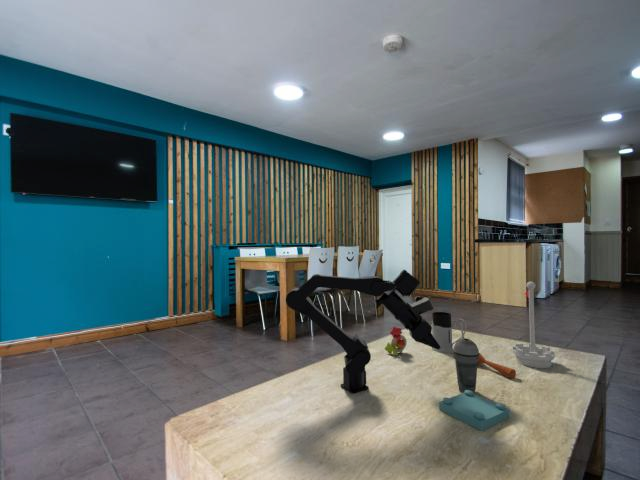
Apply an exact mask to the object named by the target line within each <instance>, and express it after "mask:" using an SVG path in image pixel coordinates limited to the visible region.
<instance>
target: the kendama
mask: <svg viewBox="0 0 640 480" xmlns="http://www.w3.org/2000/svg"><path fill="white" fill-rule="evenodd" d="M478 364H479V365H481V364H486V365H487V366H488V367H490V368H492V369H494V370H495V371H497V373H500V374H502V375H503V376H505V377H507V378H508V379H510V380H512V379H515V377H516V376H517V371H516V370H515V369H514V368H511V367H508V366H504V365H501V364H499V363H495V362H492V361H489V360H486V359H485V357H484V356H483V354H481V353H480V352H479V358H478V362H477V365H478Z"/></svg>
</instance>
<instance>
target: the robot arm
mask: <svg viewBox="0 0 640 480" xmlns="http://www.w3.org/2000/svg"><path fill="white" fill-rule="evenodd" d="M421 284H422V283H421V282H420V281H419V279H417V278H416V277H415V276H413V274H411V273H409V272H408V270H406V269H402V270H401V271H400V273H399V274H398V275H397V277H396V278H394V279H393V280H392V281H391V280H385V279H382V278H381V277H379V276H377V275H371V276H370V275H369V276H367V275H366V276H361V277H346V276H338V275H324V274H318V273H315V274H312V276H310V278H308V280H307V281H305V282H304V283H303V284H301V285H300V286H299V287H294V288H292V289H291V290H290V291H289V292H288V293H287V295H286V296H285V303H286V305H287V307H288V308H290V309H291V310H293V311H295V312H296V313H299V314H300V315H302V316H304V317H307V318H308V319H309V320H310V321H312V323H314V324H315V325H317V326H318V328H320V329H321V330H322V331H324V333H325V334H327V335H328V336H329V337H330V338H331V339H333V340H334V341H335V342H336V343H337V344H338V345H339V346H341V348H342V349H343V350H344V352H345V353H346V354H345V355H344V356H343V358H344V359H343V360H344V365H345V366H344V367H343V368H342V370H343V372H342V373H343V375H342V377H343V381H342V383H341V384H340V387H341V388H342V389H345V390H346V391H348V392H349V393H351V394H355V393H358V392H362V391H365V390H368V389H370V388H369V387H370V386H368V385H367V371H366V366H367V365H368V364H369V363H370V361H371V358H372V356H371V351H370V350H369V346H368V344H367V341H366V340H364V339H362V338H361V337H360V336H359V335H358V333H355V335H354V336H353V335H350V334H349V333H347V332H346V331H345V330H344V329H343V328H342V327H340V326H339V325H338V324H337V323H336V322H334V321H333V320H332V319H331V318H329V316H328V315H326V314H325V313H324V312H322V311H321V310H320V309H319V308H318V307H317V306H316V305H315V304H314V302H313V301H312V299H311V298H310V297H309V296H310V295H312V294H313V293H314V292H315V291H316V290H317V289H318V288H324V289H334V290H335V289H336V290H346V291H356V292H360V293H362V294H365V295H368V296H373V297H375V298H374V302H375V303H374V306H375V308H376V309H378V308H380V307H381V306H383V307H384V308H385V310H387V311H388V312H389V313H390V314H391V315H392V316H393V317H394V319H395V320H396V321H398V323H400V324H401V325H402V326H403V327H404V328H405V329H406V330H407V331H409V336H410V337H411V338H412V339H413V340H414V341H415V342H416V343H420V344H424V345H426V346H428V347H431V348H432V347H433V348H435V349H440V348H441V347H440V345H439V344H438V342H437V341H436V340H435V338H434V337H433V335H432V324H430V323H429V322H428V321H427V320H426V319H423V317H422V314H423V315H424V314H426V313H427V312H428V311H430V312H431V311H433V310H434V308H435V307H434V305H433V304H432V301H431V300H430V298H429V297H423V298H422V296H420V295H418V296H415V297H414V302H413V301H412V302H413V303H411V304H410V303H408V302H406V301H405V300H404V299H403V298H404V297H408V298H409V297H410V296H411V295H412V294H413V293H414V292H415V291H416V290H417V289H418V288H419V287H420V286H421ZM386 292H387V293H386ZM397 292H398V293H397ZM398 294H400V295H398ZM376 297H377V298H376ZM378 297H379V298H378ZM402 297H403V298H402Z"/></svg>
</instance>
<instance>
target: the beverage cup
mask: <svg viewBox="0 0 640 480" xmlns="http://www.w3.org/2000/svg"><path fill="white" fill-rule="evenodd" d="M459 325H460V330H461V337H462V338H461V339H460V338H459V339H460V340H458V339H457V340H458V341H457V340H456V341H457V342H455V343H454V345H453V352H452V353H453V357H454V362H455V370H456V378H457V387H458V391H459V392H460V394H462V393H464V392H465V390H471V391H473V394H475V395H476V388H477V376H478V364H477V362H478V358H479V353H480V352H479V351H480V350H479V348H478V346H477V344H476V343H475V342H474V341H473V340H471V339H470V338H465V334H464V328H463V323H460V324H459Z"/></svg>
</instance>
